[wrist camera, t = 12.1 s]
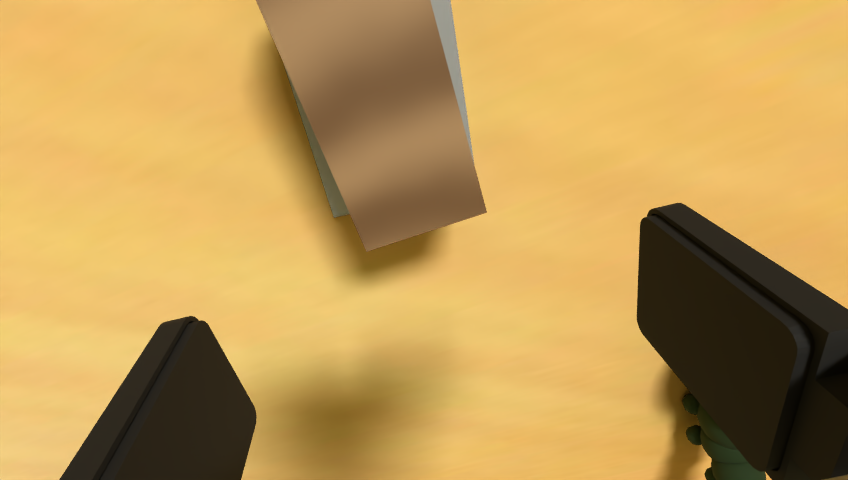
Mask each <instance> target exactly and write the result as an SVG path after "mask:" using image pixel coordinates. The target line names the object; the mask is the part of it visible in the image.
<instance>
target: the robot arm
mask: <svg viewBox="0 0 848 480" xmlns="http://www.w3.org/2000/svg"><path fill="white" fill-rule="evenodd" d="M637 322H638V326H639V328H640V330H641V332H642V334H643V335H644V336H645V338H646V339H647V340H648V341H649V342H650V344H651V345H652V346H653V347H654V348H655V350H656V351H657V352H658V353H659V355H660V356H661V357H662V358H663V359H664V361H665V362H666V363H667V364H668V365H669V367H670V368H671V369H672V370H673V372H674V373H675V374H676V375H677V376H678V378H679V379H680V380H681V381H682V382H683V384H684V385H685V386H686V387H687V389H688V390H689V391H690V392H691V393H692V395H693V396H694V397H695V398H696V399H697V401H698V402H699V403H700V404H701V406H702V407H703V408H704V409H705V410H706V412H707V413H708V414H709V415H710V416H711V418H712V419H713V420H714V421H715V423H716V424H717V425H718V426H719V427H720V429H721V430H722V431H723V432H724V433H725V435H726V436H727V437H728V438H729V440H730V441H731V442H732V443H733V444H734V446H735V447H736V448H737V449H738V450H739V452H740V453H741V454H742V455H743V456H744V458H745V459H746V460H747V461H748V463H749V464H750V465H751V466H752V467H753V468H755V469H756V470H757V471H760V472H763V471H765V472H766V473H767V474H768V475H769V477H770V478H771V479H772V480H848V309H846V308H845V307H843V306H842V305H840V304H839V303H837V302H836V301H834V300H832V299H831V298H829V297H828V296H826V295H825V294H823V293H821V292H820V291H818V290H817V289H815V288H814V287H812V286H811V285H809V284H807V283H806V282H804V281H803V280H801V279H800V278H798V277H797V276H795V275H793V274H792V273H790V272H789V271H787V270H786V269H784V268H783V267H781V266H779V265H778V264H776V263H775V262H773V261H772V260H770V259H768V258H767V257H765V256H764V255H762V254H761V253H759V252H758V251H756V250H754V249H753V248H751V247H750V246H748V245H747V244H745V243H744V242H742V241H740V240H739V239H737V238H736V237H734V236H733V235H731V234H730V233H728V232H726V231H725V230H723V229H722V228H720V227H719V226H717V225H715V224H714V223H712V222H711V221H709V220H708V219H706V218H705V217H703V216H701V215H700V214H698V213H697V212H695V211H694V210H692V209H691V208H689V207H687V206H686V205H684V204H682V203H675V204H671V205H667V206H663V207H658V208H654V209H651V210H650V211H649V212H648V214H647V217H645V218H643V219H642V220H641V224H640V244H639V271H638V299H637ZM255 425H256V411H255V407H254V405H253V403H252V402H251V400H250V398H249V396H248V395H247V393H246V391H245V389H244V387H243V386H242V384H241V382H240V380H239V379H238V377H237V375H236V373H235V371H234V370H233V368H232V366H231V364H230V363H229V361H228V359H227V357H226V355H225V354H224V352H223V350H222V348H221V347H220V345H219V343H218V341H217V339H216V338H215V336H214V334H213V332H212V331H211V329H210V327H209V325H208V324H207V323H206V322H205V321H199V320H198V319H197V318H195V317H193V316H189V317H184V318H180V319H176V320H171V321H167V322H164V323H162V324H161V325H160V326H159V327H158V329H157V330H156V332H155V334H154V335H153V337H152V338H151V340H150V341H149V343H148V344H147V346H146V347H145V349H144V351H143V352H142V354H141V355H140V357H139V358H138V360H137V361H136V363H135V364H134V366H133V367H132V369H131V371H130V372H129V374H128V375H127V377H126V378H125V380H124V381H123V383H122V384H121V386H120V387H119V389H118V391H117V392H116V394H115V395H114V397H113V398H112V400H111V401H110V403H109V404H108V406H107V407H106V409H105V411H104V412H103V414H102V415H101V417H100V418H99V420H98V421H97V423H96V424H95V426H94V427H93V429H92V431H91V432H90V434H89V435H88V437H87V438H86V440H85V441H84V443H83V444H82V446H81V447H80V449H79V451H78V452H77V454H76V455H75V457H74V458H73V460H72V461H71V463H70V464H69V466H68V467H67V469H66V471H65V472H64V474H63V475H62V477H61V478H60V480H241V477H242V474H243V470H244V466H245V462H246V459H247V455H248V451H249V448H250V444H251V440H252V437H253V433H254V429H255Z"/></svg>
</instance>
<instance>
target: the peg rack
mask: <svg viewBox="0 0 848 480" xmlns="http://www.w3.org/2000/svg"><path fill="white" fill-rule="evenodd" d="M430 1H431V5H432V8H433V12H434V16H435V20H436V23H437V27H438V31H439V35H440V38H441V42H442V46H443V50H444V53H445V57H446V61H447V65H448V69H449V72H450V76H451V80H452V84H453V87H454V91H455V95H456V99H457V102H458V106H459V110H460V114H461V117H462V121H463V125H464V129H465V132H466V136H467V140H468V144H469V147H470V151H471V155H472V159H473V153H472V146H471V139H470V132H469V125H468V118H467V111H466V104H465V97H464V90H463V84H462V77H461V70H460V63H459V56H458V49H457V42H456V35H455V28H454V21H453V14H452V7H451V1H450V0H430ZM283 64H284V63H283ZM284 67H285V65H284ZM285 70H286V68H285ZM286 73H287V76H288V79H289V82H290V85H291V88H292V91H293V94H294V97H295V100H296V103H297V106H298V109H299V112H300V115H301V119H302V122H303V125H304V128H305V131H306V134H307V137H308V140H309V143H310V146H311V149H312V152H313V155H314V158H315V161H316V164H317V167H318V170H319V174H320V177H321V180H322V183H323V186H324V189H325V192H326V195H327V198H328V201H329V204H330V207H331V210H332V213H333V216H334V217H339V216H343V215H348V214H350V213H349V211H348V209H347V206H346V204H345V202H344V199H343V197H342V195H341V193H340V190H339V188H338V186H337V184H336V181H335V179H334V177H333V174H332V172H331V170H330V168H329V165H328V163H327V161H326V159H325V156H324V154H323V152H322V149H321V147H320V145H319V143H318V140H317V138H316V136H315V134H314V131H313V129H312V127H311V124H310V122H309V120H308V118H307V115H306V113H305V111H304V109H303V106H302V104H301V102H300V99H299V97H298V95H297V93H296V90H295V88H294V86H293V84H292V81H291V79H290V77H289V74H288V72H287V70H286ZM473 162H474V160H473Z"/></svg>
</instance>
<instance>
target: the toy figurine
mask: <svg viewBox="0 0 848 480" xmlns="http://www.w3.org/2000/svg"><path fill="white" fill-rule="evenodd" d="M682 402H683V405H684V408H685V410H686V411H688V412H689V413H691V414H694V415H696V414H697V418H698V421H699V424H700V426H698V425H694V426H691V427H688V428H687V431H686V435H687V438H688V440H689V441H690V442H691V443H692V444H695V445H701V444H702V446H703V448H704V449H705V451H706V453H707V454H708V455H709V456H710V457H711V458H712V462H711V467H710V468H708V469H707V470H706V472H705V477H706V480H766V474H765V471H763V472H760V471H757V470H756V469H755V468H753V467H752V466H751V465H750V464H749V463H748V461H747V460H746V459H745V458H744V456H743V455H742V454H741V453H740V452H739V450H738V449H737V448H736V447H735V446H734V444H733V443H732V442H731V441H730V440H729V438H728V437H727V436H726V435H725V433H724V432H723V431H722V430H721V429H720V427H719V426H718V425H717V424H716V423H715V421H714V420H713V419H712V418H711V416H710V415H709V414H708V413H707V412H706V410H705V409H704V408H703V407H702V406H701V404H700V403H699V402H698V401H697V399H696V398H695V397H694V396H693V395H692V394H687V395H686V396H685V397H684V398H683V400H682Z"/></svg>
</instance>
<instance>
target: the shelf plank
mask: <svg viewBox="0 0 848 480" xmlns="http://www.w3.org/2000/svg"><path fill="white" fill-rule="evenodd" d="M256 2H257V4H258V6H259V9H260V11H261V13H262V15H263V18H264V20H265V22H266V24H267V27H268V29H269V31H270V34H271V36H272V38H273V40H274V43H275V45H276V47H277V49H278V52H279V54H280V56H281V59H282V61H283V63H284V65H285V68H286V70H287V72H288V74H289V77H290V79H291V81H292V84H293V86H294V88H295V90H296V93H297V95H298V97H299V99H300V102H301V104H302V106H303V109H304V111H305V113H306V115H307V118H308V120H309V122H310V124H311V127H312V129H313V131H314V134H315V136H316V138H317V140H318V143H319V145H320V147H321V149H322V152H323V154H324V156H325V159H326V161H327V163H328V165H329V168H330V170H331V172H332V174H333V177H334V179H335V181H336V184H337V186H338V188H339V190H340V193H341V195H342V197H343V199H344V202H345V204H346V206H347V209H348V211H349V213H350V215H351V218H352V220H353V222H354V224H355V227H356V229H357V231H358V234H359V236H360V238H361V240H362V243H363V245H364V247H365V249H366V252H367V251H370V250H373V249H376V248H380V247H383V246H386V245H389V244H392V243H395V242H398V241H401V240H404V239H407V238H410V237H413V236H416V235H419V234H422V233H425V232H429V231H432V230H435V229H438V228H441V227H444V226H447V225H450V224H453V223H456V222H459V221H462V220H465V219H468V218H471V217H474V216H478V215H481V214H484V213H487V211H486V208H485V204H484V200H483V196H482V192H481V189H480V185H479V181H478V177H477V174H476V170H475V166H474V162H473V159H472V155H471V151H470V147H469V144H468V140H467V136H466V132H465V129H464V125H463V121H462V117H461V114H460V110H459V106H458V102H457V99H456V95H455V91H454V87H453V84H452V80H451V76H450V72H449V69H448V65H447V61H446V57H445V53H444V50H443V46H442V42H441V38H440V35H439V31H438V27H437V23H436V20H435V16H434V12H433V8H432V5H431V1H430V0H256Z"/></svg>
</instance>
